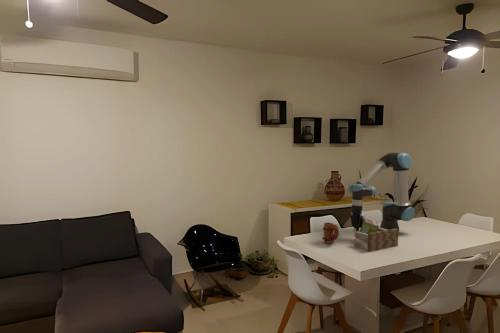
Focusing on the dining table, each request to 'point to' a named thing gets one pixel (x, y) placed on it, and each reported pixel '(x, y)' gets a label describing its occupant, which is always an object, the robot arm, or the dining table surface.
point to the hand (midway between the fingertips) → (356, 236)
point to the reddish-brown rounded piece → (330, 233)
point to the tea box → (369, 226)
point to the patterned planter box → (377, 239)
